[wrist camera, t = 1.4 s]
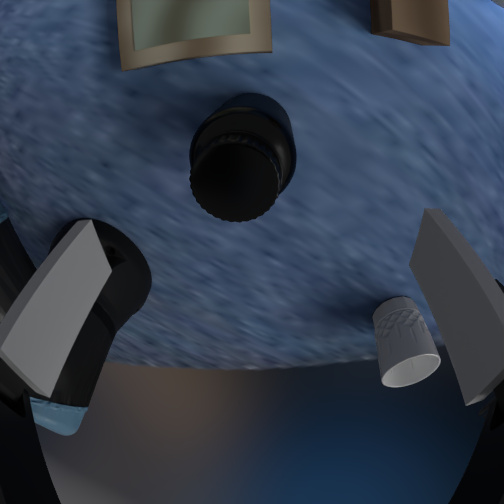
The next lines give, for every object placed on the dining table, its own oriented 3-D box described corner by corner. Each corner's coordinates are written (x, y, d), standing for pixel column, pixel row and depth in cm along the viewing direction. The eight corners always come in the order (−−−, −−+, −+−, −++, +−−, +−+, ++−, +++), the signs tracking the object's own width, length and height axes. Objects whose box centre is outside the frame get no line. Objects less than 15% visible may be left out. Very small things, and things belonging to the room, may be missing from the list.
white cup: (365, 302, 36) (380, 366, 28) (419, 285, 34) (444, 346, 26) (370, 334, 40) (382, 392, 32) (418, 320, 38) (436, 376, 30)
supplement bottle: (210, 94, 22) (161, 122, 13) (290, 91, 22) (304, 115, 12) (217, 165, 26) (182, 238, 17) (290, 164, 26) (300, 238, 16)
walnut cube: (371, 34, 17) (392, 29, 13) (368, -14, 14) (388, -28, 10) (421, 45, 17) (449, 45, 13) (419, -1, 14) (446, -9, 10)
